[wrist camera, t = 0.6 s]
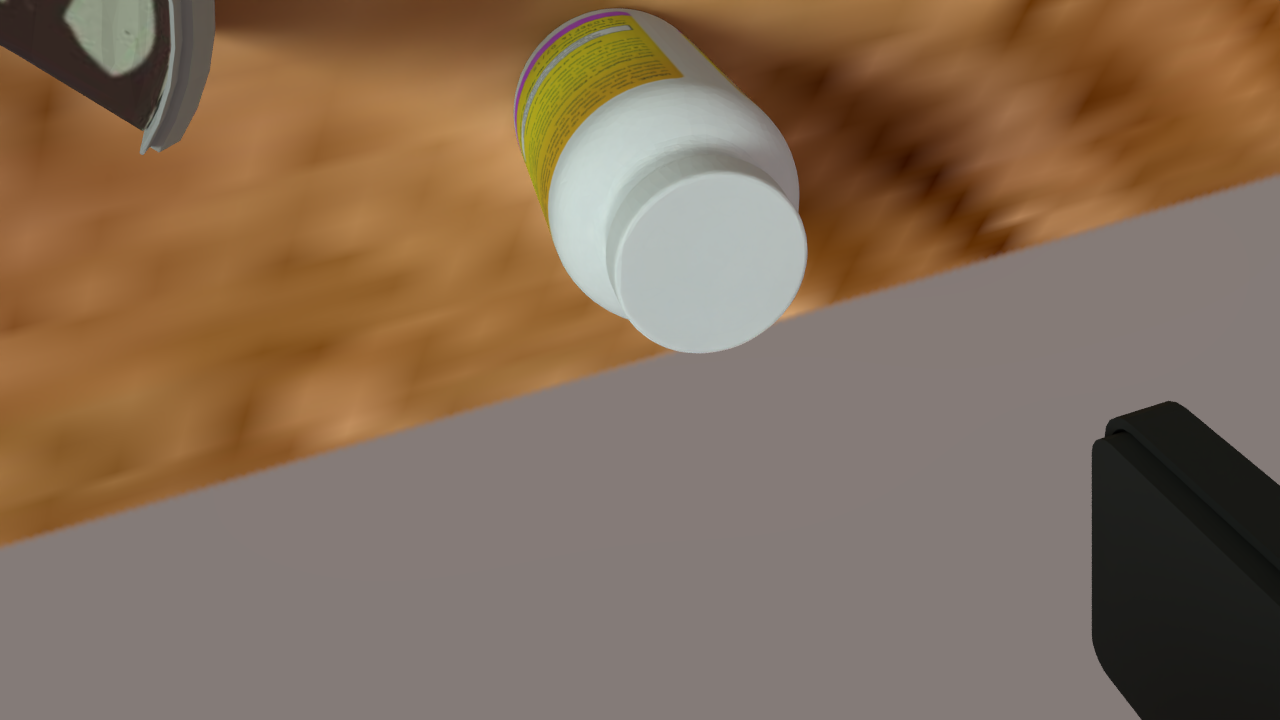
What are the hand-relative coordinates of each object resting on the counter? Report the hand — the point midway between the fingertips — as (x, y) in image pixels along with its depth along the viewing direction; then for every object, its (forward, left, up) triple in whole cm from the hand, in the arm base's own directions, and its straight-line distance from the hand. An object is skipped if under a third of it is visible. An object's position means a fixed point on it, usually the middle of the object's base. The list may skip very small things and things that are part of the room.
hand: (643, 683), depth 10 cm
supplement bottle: (+4, +4, -28) cm, 29 cm away
